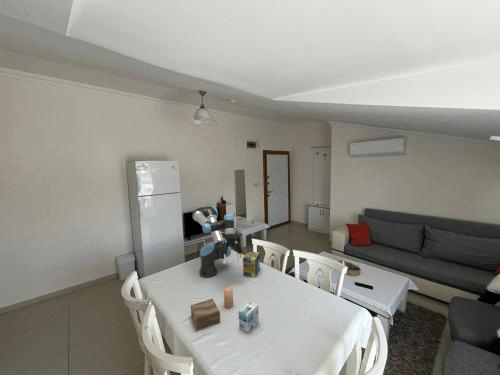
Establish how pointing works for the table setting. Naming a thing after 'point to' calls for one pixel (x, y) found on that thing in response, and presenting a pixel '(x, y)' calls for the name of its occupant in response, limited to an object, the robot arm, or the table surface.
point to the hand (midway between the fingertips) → (231, 263)
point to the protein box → (251, 264)
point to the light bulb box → (248, 316)
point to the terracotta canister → (228, 296)
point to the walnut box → (205, 314)
